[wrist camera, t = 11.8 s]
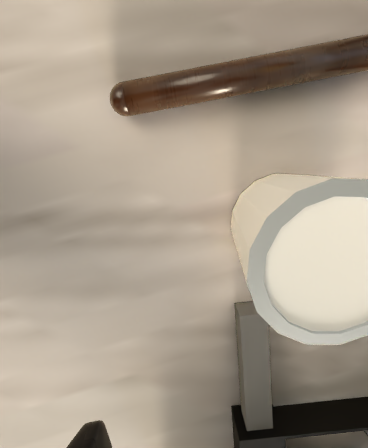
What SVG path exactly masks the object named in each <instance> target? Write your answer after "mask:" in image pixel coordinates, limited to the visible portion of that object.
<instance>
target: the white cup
mask: <svg viewBox="0 0 368 448" xmlns="http://www.w3.org/2000/svg"><path fill="white" fill-rule="evenodd" d="M231 232H232V235H233V239H234V242H235V246H236V249H237V252H238V256H239V259H240V262H241V266H242V269H243V273H244V276H245V279H246V283H247V286H248V288H249V291H250V294H251V297H252V300H253V303H254V305H255V308H256V311H257V313H258V314H259V315H260V316H261V317H262V318H263V319H264V320H265V321H266V322H267V323H268V324H269V325H270V326H271V327H272V328H273V329H274V330H275V331H276V332H277V333H278V334H281V335H283V336H286V337H288V338H291V339H293V340H296V341H298V342H301V343H303V344H306V345H341V344H344V343H347V342H350V341H353V340H356V339H359V338H362V337H365V336H368V179H356V178H341V177H327V176H312V175H298V174H272V175H269V176H266V177H264V178H261V179H258V180H256V181H255V182H253V183H252V184H251V185H250V186H249V187H248V188H247V189H246V190H245V191H243V192H242V193H241V194H240V196H239V198H238V200H237V202H236V204H235V206H234V208H233V210H232V219H231Z"/></svg>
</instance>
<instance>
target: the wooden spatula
mask: <svg viewBox="0 0 368 448" xmlns="http://www.w3.org/2000/svg"><path fill="white" fill-rule="evenodd" d="M367 70H368V35H362V36H357V37H352V38H347V39H342V40H337V41H331V42H326V43H321V44H316V45H311V46H306V47H300V48H295V49H290V50H285V51H280V52H275V53H269V54H264V55H259V56H254V57H249V58H244V59H238V60H233V61H228V62H223V63H218V64H213V65H207V66H202V67H197V68H192V69H187V70H182V71H177V72H171V73H166V74H161V75H156V76H151V77H146V78H140V79H135V80H130V81H125V82H121V83H118V84H116V85H115V86H114V87H113V89H112V91H111V93H110V103H111V106H112V108H113V109H114V110H115V111H116V112H117V113H118V114H120V115H123V116H133V115H138V114H143V113H148V112H153V111H159V110H164V109H169V108H174V107H179V106H185V105H190V104H195V103H200V102H205V101H211V100H216V99H221V98H226V97H231V96H237V95H242V94H247V93H252V92H257V91H263V90H268V89H273V88H278V87H283V86H289V85H294V84H299V83H304V82H310V81H315V80H320V79H325V78H330V77H336V76H341V75H346V74H351V73H356V72H362V71H367Z"/></svg>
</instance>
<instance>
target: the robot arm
mask: <svg viewBox="0 0 368 448" xmlns="http://www.w3.org/2000/svg"><path fill="white" fill-rule="evenodd" d="M67 448H112V445H111V442H110V439H109V436H108V433H107V430H106V427H105V424H104V422H103V421H100V420H99V421H94V422H89V423H86V424H85V425H83V427H82V428H81V429H80V431H79V432H78V433H77V434H76V436H75V437H74V438H73V440H72V441H71V442H70V444H69V445H68V446H67Z"/></svg>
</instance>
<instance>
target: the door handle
mask: <svg viewBox="0 0 368 448" xmlns="http://www.w3.org/2000/svg"><path fill="white" fill-rule="evenodd" d="M235 318H236V333H237V349H238V365H239V380H240V396H241V405H237V406H231V408H232V422H233V436H234V448H286V444H285V439H290V438H299V437H308V436H318V435H327V434H336V433H346V432H355V431H364V432H365V433H366V434H367V435H368V397H360V398H351V399H341V400H332V401H322V402H313V403H303V404H294V405H284V406H275V407H273V404H272V394H271V369H270V345H269V324H268V323H267V322H266V321H265V320H264V319H263V318H262V317H261V316H260V315H259V314H258V313H257V311H256V308H255V305H254V303H253V301H252V302H242V303H235Z"/></svg>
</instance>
